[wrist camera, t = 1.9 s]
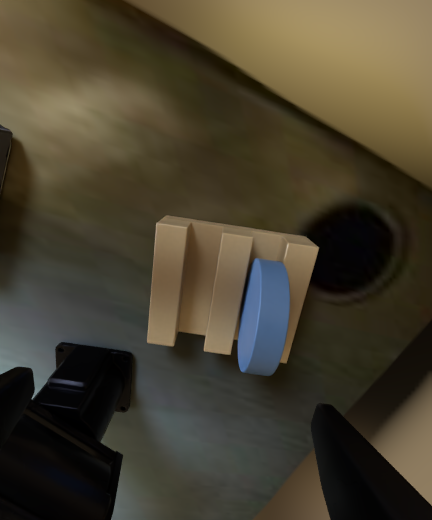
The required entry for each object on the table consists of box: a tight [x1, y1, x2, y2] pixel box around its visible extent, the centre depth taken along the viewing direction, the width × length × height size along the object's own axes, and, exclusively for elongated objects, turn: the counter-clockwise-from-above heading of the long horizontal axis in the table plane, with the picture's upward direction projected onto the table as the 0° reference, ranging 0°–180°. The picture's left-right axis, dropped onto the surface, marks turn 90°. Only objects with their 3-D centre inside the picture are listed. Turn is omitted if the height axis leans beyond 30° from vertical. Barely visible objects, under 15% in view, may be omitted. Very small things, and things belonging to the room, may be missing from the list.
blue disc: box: [238, 258, 290, 376], centre depth 17 cm, size 7×2×7 cm, turn 172°
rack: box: [147, 215, 319, 363], centre depth 20 cm, size 9×10×3 cm
